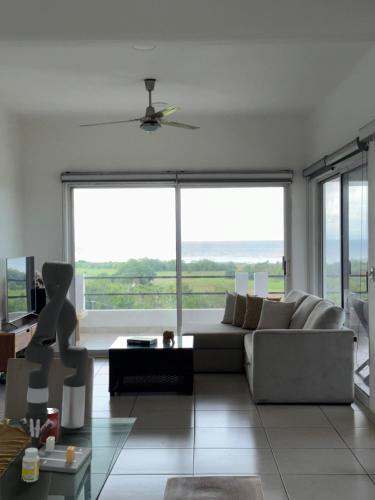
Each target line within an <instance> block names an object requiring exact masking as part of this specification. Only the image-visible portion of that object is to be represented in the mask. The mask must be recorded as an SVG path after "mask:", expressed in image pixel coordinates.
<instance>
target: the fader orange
mask: <svg viewBox="0 0 375 500" xmlns="http://www.w3.org/2000/svg"><path fill="white" fill-rule="evenodd" d="M68 446H69V448H68V449H67V453H66V462H68V463H72V462H73V461H74V458H75V447H76V446H73V445H68ZM70 446H71V447H70Z"/></svg>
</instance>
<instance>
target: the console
mask: <svg viewBox="0 0 375 500" xmlns="http://www.w3.org/2000/svg"><path fill="white" fill-rule="evenodd" d="M69 446H70V447H71V446H72V445H59V444H54V450H53V451H52V452H46V444H43V446H42V447H40V449H39V450H38V454H37V455H38V456H39V458H40V460H39V469H40V470H39V471H48V472H49V471H50V472H61V473H71V474H77V473H78V472H79V471H80V469H81V468H82V466H83V465H84V464H85V462H86V461H87V460H88V458H89V457H90V456H91V454H92V453H93V448H92V447H83V446H81V447H80V446H74V447H75V458H74V461H73V462H72V463H68V462H66V453H67V449H68V448H69Z"/></svg>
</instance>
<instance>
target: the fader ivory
mask: <svg viewBox="0 0 375 500" xmlns="http://www.w3.org/2000/svg"><path fill="white" fill-rule="evenodd" d="M55 444H56V443H55V437H53V436H51V437H49V438H47V439H46V452H52V451H53V450H54V445H55Z"/></svg>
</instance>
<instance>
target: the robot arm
mask: <svg viewBox="0 0 375 500" xmlns="http://www.w3.org/2000/svg"><path fill="white" fill-rule="evenodd" d="M73 276H74V267H73V264H72V263H70V262H67V261H55V260H47V261H44V263H43V264H42V267H41V278H42V279H41V280H42V283H43V286H44V288H45V292H46V294H47V297H48V300H49V301H48V302H47V304H45V306H44V307H43V308H42V310H41V311H40V313H39V316H38V318H37V322H36V327H35V330H34V333H33V334H32V336H31V338H30V340H29V341H28V343H27V345H26V347H25V351H24V359H25V361H26V362H27V363H30V364H33V365H34V364H37V365H40V368H39V369H33V370H30V371H29V374H28V383H27V384H28V386H27V387H28V389H27V394H26V412H25V413H26V414H25V415H24V418H21V420H19V422H18V423H19V425H20V426H21V428H22V429H23V431H24V432H25V434H26V435H27V436H31V442H30V443H31V446H32V448H38V447H39V446H40V445H41V443H40V437H41V436H43V435H44V434H46V432H47V431H48V430H49V429H50V428H51V427H52V425H53V424H54V422H53V421H50V420H49V416H48V408H49V394H50V393H49V377H50V374H51V368H52V365H53V364H54V360H55V355H56V353H55V349H54V347H53V346H52V345H49V344H42V343H43V342H44V341H47V340H48V341H49V340H51V339H54V337H55V333H56V337H57V344H58V345H57V346H58V351H59V360H60V363H61V365H62V367H63V368H66V369H74V370H76V371H75V373H73V374H70V375H67V376H65V377H64V378H63V381H62V405H61V422H60V423H61V425H60V426H61V427H62V428H66V429H79V428H81V427H82V428H83V427H84V424H85V423H84V422H85V407H86V405H85V403H86V383H87V382H86V381H87V375H88V373H87V372H88V364H89V363H88V361H89V351H88V349H87V347H85V346H79V345H78V346H77V345H71V344H70V338H71V336H72V335H73V333H74V332H75V330H76V327H77V325H78V316H77V312H76V309H75V305H74V304H73V303H72V302H71V301H70V299H69V298H68V297H67V295H68V292H69V289H70V287H71V284H72V281H73ZM46 422H47V424H46V426H47V427H46V428H45V429H44V430H43V431H42V426H43V425H44V424H45V423H46ZM41 431H42V432H41Z"/></svg>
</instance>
